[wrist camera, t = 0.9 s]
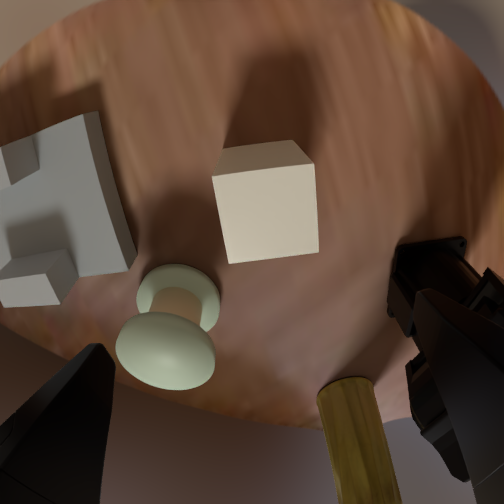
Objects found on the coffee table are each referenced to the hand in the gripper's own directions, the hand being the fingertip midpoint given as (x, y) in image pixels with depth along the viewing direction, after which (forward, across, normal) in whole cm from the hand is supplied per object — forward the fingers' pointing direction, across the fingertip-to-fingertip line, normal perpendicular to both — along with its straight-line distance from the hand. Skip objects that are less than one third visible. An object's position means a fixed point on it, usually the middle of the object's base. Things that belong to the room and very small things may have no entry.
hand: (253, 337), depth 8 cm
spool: (+12, +7, +7) cm, 15 cm away
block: (+12, -1, -1) cm, 12 cm away
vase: (+12, -5, +23) cm, 26 cm away
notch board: (+12, +15, -3) cm, 19 cm away
